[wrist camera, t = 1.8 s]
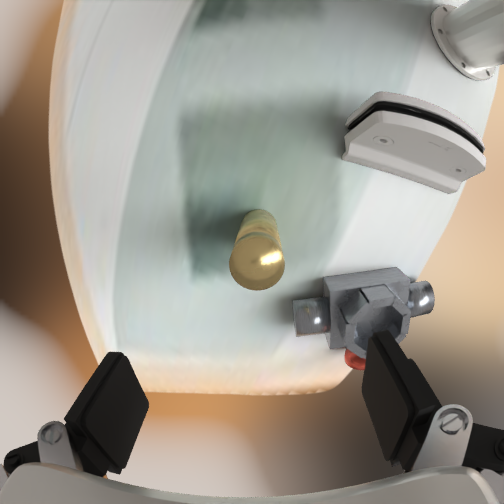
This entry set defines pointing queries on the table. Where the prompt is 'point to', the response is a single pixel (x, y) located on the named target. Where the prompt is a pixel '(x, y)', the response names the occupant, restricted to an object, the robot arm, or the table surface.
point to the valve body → (362, 310)
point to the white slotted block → (414, 141)
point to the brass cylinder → (257, 252)
